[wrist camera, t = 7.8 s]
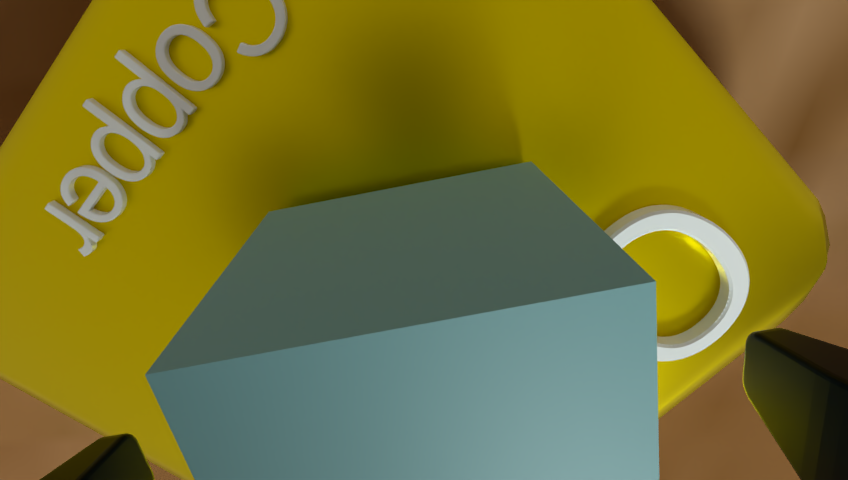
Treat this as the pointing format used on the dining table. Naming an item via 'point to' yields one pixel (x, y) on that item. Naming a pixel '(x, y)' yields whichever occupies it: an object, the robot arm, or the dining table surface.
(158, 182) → the element tile
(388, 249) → the block
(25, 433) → the dining table surface
